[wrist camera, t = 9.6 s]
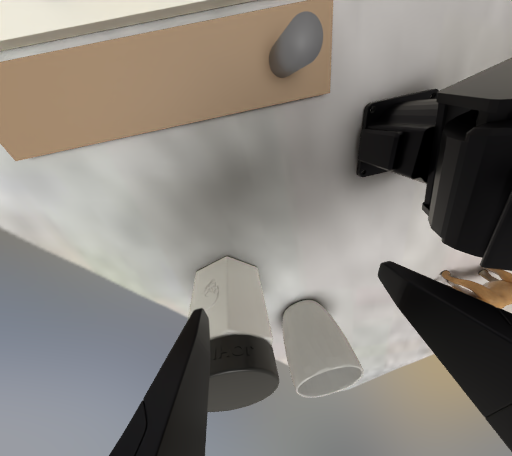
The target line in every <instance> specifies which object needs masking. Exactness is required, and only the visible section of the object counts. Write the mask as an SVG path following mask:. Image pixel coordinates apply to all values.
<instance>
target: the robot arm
mask: <svg viewBox="0 0 512 456" xmlns="http://www.w3.org/2000/svg"><path fill="white" fill-rule="evenodd" d="M431 95H432V96H431ZM430 97H431V98H430ZM371 107H373V110H372V111H371V112H370V109H371ZM358 159H359V160H358V168H357V175H358V176H360V177H366V176H370V175H374V174H378V173H383V172H387V171H391V172H394V173H397V174H399V175H402V176H405V177H408V178H411V179H414V180H417V181H420V182H422V183H425V184H427V188H426V195H425V202H423V205H422V210H423V211H424V212H425V213H426V214H427V215H428V216H429V217H428V221H429V223H430V226H431V228H432V229H433V230H434V231H435V232H436V233H437V234H438V235H439V236H440V237H441V238H442V242H443V243H444V244H446V245H448V246H450V247H452V248H454V249H456V250H459V251H462V252H465V253H468V254H470V255H474V256H478V257H482V261H481V263H480V265H481V266H482V267H484V268H490V269H500V270H510V271H512V58H510V59H508V60H506V61H503V62H501V63H499V64H497V65H495V66H493V67H490V68H488V69H486V70H484V71H482V72H480V73H477V74H475V75H473V76H471V77H469V78H467V79H464V80H462V81H460V82H458V83H456V84H454V85H451V86H449V87H447V88H445V89H443V90H440V91H439V90H438V89H431V90H426V91H422V92H417V93H413V94H408V95H404V96H399V97H395V98H390V99H386V100H381V101H377V102H372V103H369V104H368V105H367V106H366V108H365V111H364V119H363V127H362V132H361V139H360V147H359V155H358ZM363 170H364V172H363V173H362V171H363ZM378 277H379V279H380V281H381V282H382V284H383V285H384V287H385V289H386V290H387V292H388V293H389V295H390V296H391V298H392V299H393V301H394V302H395V304H396V305H397V307H398V308H399V309H400V311H401V312H402V313H403V315H404V316H405V317H406V318H407V320H408V321H409V322H410V323H411V325H412V326H413V327H414V328H415V330H416V331H417V332H418V334H419V335H420V336H421V337H422V339H423V340H424V341H425V342H426V344H427V345H428V346H429V347H430V349H431V350H432V351H433V353H434V354H435V355H436V356H437V358H438V359H439V360H440V361H441V363H442V364H443V365H444V366H445V367H446V369H447V370H448V372H449V373H450V374H451V375H452V376H453V378H454V379H455V380H456V382H457V383H458V384H459V385H460V387H461V388H462V389H463V391H464V392H465V393H466V394H467V396H468V397H469V398H470V399H471V400H472V402H473V403H474V404H475V406H476V407H477V408H478V409H479V411H480V412H481V413H482V415H483V416H484V417H485V418H486V420H487V421H488V422H489V424H490V425H491V426H492V427H493V429H494V430H495V431H496V433H498V435H499V436H500V438H501V439H502V440H503V441H504V443H505V444H506V445H507V446H508V448H509V449H510V450H511V452H512V313H510V312H507V311H505V310H503V309H500V308H496V307H495V306H493V305H491V304H489V303H486V302H484V301H482V300H479V299H477V298H475V297H472V296H470V295H468V294H465V293H463V292H461V291H458V290H456V289H454V288H452V287H449V286H447V285H445V284H442V283H440V282H438V281H435V280H433V279H431V278H428V277H426V276H424V275H421V274H419V273H417V272H415V271H412V270H410V269H408V268H405V267H403V266H401V265H398V264H396V263H394V262H391V261H387V262H383V263H381V264H380V268H379V271H378ZM210 357H211V353H210V329H209V318H208V316H207V314H206V312H205V311H204V309H203V308H199V309H195V310H194V311H193V312H192V314H191V316H190V318H189V319H188V321H187V323H186V325H185V326H184V328H183V330H182V332H181V333H180V335H179V337H178V339H177V340H176V342H175V344H174V346H173V348H172V349H171V351H170V353H169V354H168V356H167V358H166V360H165V362H164V363H163V365H162V367H161V368H160V370H159V372H158V374H157V376H156V377H155V379H154V381H153V383H152V384H151V386H150V388H149V390H148V391H147V393H146V395H145V397H144V400H143V401H142V402H141V404H140V405H139V407H138V409H137V411H136V412H135V414H134V416H133V418H132V419H131V421H130V423H129V424H128V426H127V428H126V429H125V431H124V433H123V435H122V436H121V438H120V439H119V441H118V442H117V444H116V446H115V447H114V449H113V450H112V452H111V453H110V455H109V456H205V443H206V426H207V409H208V393H209V376H210Z"/></svg>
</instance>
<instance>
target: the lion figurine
mask: <svg viewBox="0 0 512 456" xmlns="http://www.w3.org/2000/svg"><path fill="white" fill-rule="evenodd" d="M486 269H487V270H490V271H492V272H494V273H496V274H497V275H499V276H500V278H501V279H502V280H498V279H496V278H494V277H492V276H491V275H490V274H489V273H488V271H487V270H482V271H481V272H480V273H479V275H481V276H482V277H484V278H485V279H486V280H488V281H489V282H488V283H485V284H484V285H481V284H478V283H475V282H472V281H468V280H463V279H458V278H454V277H451V276H450V272H448V271H444V272H442V274H441V275H442V277H443V278H445V279H446V280H448V283H449V284H450V285H451V286H452V288H454V289H456V290H458V291H461V292H463V293H465V294H468V295H470V296H472V297H475V298H477V299H479V300H482V301H484V302H486V303H489V304H491V305H493V306H495V307H496V308H500V309H502V308H504V307H505V306H506V305H509V304H512V274H511V273H509V272H506V271H504V270H500V269H490V268H486ZM457 284H458V285H457ZM459 285H462V286H464V287H466V288H468V289H470V290H472V291H473V292H471V291H469V290H467V289H464V288H462V287H460V286H459ZM447 286H448V285H447ZM449 287H450V286H449Z"/></svg>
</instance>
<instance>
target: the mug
mask: <svg viewBox="0 0 512 456" xmlns="http://www.w3.org/2000/svg"><path fill="white" fill-rule="evenodd" d="M282 327H283V339H284V345H285V351H286V357H287V361H288V365H289V369H290V373H291V377H292V380H293V383H294V387H295V390H296V392H297V393H298V394H299V395H301V396H303V397H321V396H325V395H329V394H332V393H335V392H338V391H341V390H343V389H345V388H347V387H349V386H351V385H353V384H355V383H356V382H358V381H359V380H360V379H361V378H362V376H363V369H362V367H361V364H360V362H359V360H358V358H357V357H356V355H355V353H354V351H353V349H352V347H351V346H350V344H349V342H348V340H347V338H346V337H345V335H344V334H343V332H342V331H341V329H340V328H339V326H338V325H337V323H336V322H335V321H334V319H333V318H332V317H331V315H330V314H329V313H328V312H327V311H326V309H325V308H324V307H323V306H322V305H320V304H319V303H317V302H316V301H313V300H304V301H300V302H297V303H295V304H293V305H291V306H290V307H289V308H288V309H287V310H286V311H285V312H284V315H283V322H282Z"/></svg>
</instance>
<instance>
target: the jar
mask: <svg viewBox="0 0 512 456" xmlns="http://www.w3.org/2000/svg"><path fill="white" fill-rule="evenodd" d="M199 308H203V309H204V311H205V312H206V314H207V316H208V318H209V329H210V353H211V357H210V376H209V393H208V409H207V412H219V411H228V410H233V409H238V408H242V407H246V406H249V405H251V404H254V403H257V402H259V401H261V400H263V399H265V398H266V397H268V396H269V395H271V394H272V393H273V392H274V391H275V390H276V389H277V387H278V384H279V376H278V372H277V367H276V363H275V357H274V353H273V348H272V341H273V336H272V332H271V327H270V323H269V318H268V314H267V309H266V305H265V300H264V296H263V291H262V287H261V282H260V278H259V273H258V269H257V267H255V266H252V265H250V264H247V263H244V262H241V261H239V260H236V259H233V258H231V257H228V256H226V257H224V258H222V259H220V260H218V261H216V262H214V263H212V264H210V265H208V266H207V267H205V268H203V269H201V270H199V271H197V272H196V275H195V281H194V287H193V292H192V298H191V304H190V310H189V316H188V319H189V318H190V316H191V314H192V312H193V311H194V310H195V309H199Z"/></svg>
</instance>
